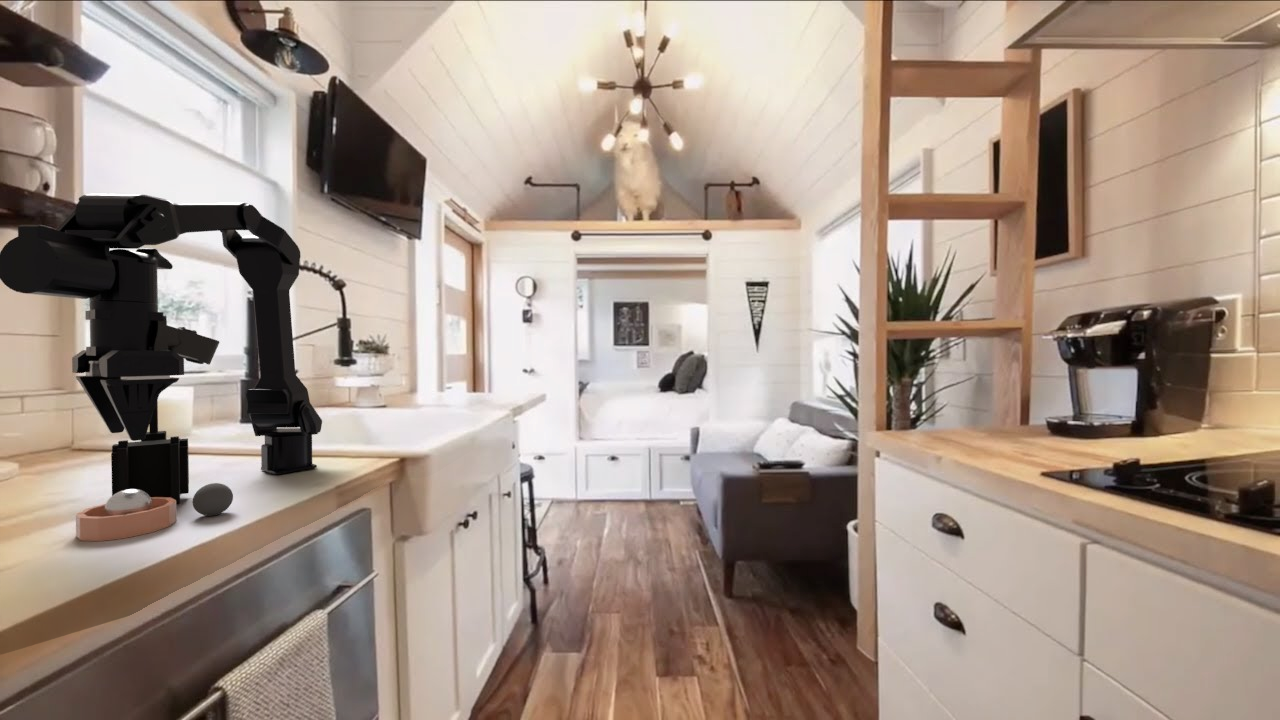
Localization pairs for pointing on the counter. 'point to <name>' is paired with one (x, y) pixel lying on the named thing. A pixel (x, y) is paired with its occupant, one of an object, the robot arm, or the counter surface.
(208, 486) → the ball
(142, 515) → the dish
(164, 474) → the toy
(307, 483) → the counter surface
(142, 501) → the steel ball
